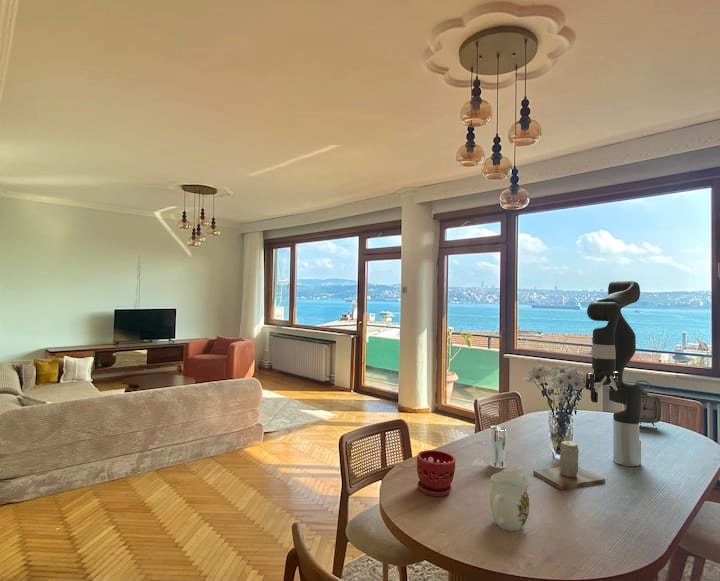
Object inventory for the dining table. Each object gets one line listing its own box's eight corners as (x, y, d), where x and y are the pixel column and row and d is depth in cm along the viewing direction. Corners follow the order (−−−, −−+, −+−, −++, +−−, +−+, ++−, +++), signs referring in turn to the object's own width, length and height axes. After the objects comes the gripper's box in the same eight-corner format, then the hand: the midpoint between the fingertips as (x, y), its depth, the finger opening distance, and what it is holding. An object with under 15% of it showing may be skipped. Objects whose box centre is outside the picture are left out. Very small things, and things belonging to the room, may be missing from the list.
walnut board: (574, 468, 169) (574, 464, 169) (605, 483, 156) (605, 479, 156) (533, 474, 163) (533, 470, 163) (561, 489, 150) (561, 485, 150)
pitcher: (475, 530, 122) (476, 482, 122) (503, 509, 135) (503, 465, 135) (513, 546, 114) (513, 494, 115) (538, 521, 128) (538, 475, 128)
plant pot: (431, 502, 139) (432, 465, 139) (409, 486, 150) (409, 452, 151) (463, 494, 145) (463, 459, 145) (438, 480, 156) (439, 447, 157)
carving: (564, 478, 156) (564, 445, 156) (555, 470, 163) (556, 439, 164) (582, 479, 155) (582, 446, 156) (572, 471, 163) (572, 439, 163)
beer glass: (508, 470, 167) (508, 431, 167) (489, 468, 168) (489, 430, 169) (505, 463, 174) (505, 426, 174) (487, 461, 175) (488, 425, 175)
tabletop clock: (631, 428, 226) (631, 381, 227) (623, 423, 235) (623, 378, 236) (661, 430, 224) (661, 382, 224) (652, 425, 233) (652, 379, 233)
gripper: (609, 355, 161) (609, 398, 161) (580, 355, 157) (579, 400, 157) (627, 357, 154) (627, 402, 154) (597, 358, 150) (597, 405, 149)
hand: (603, 401), depth 155 cm, fingers open, 8 cm apart
